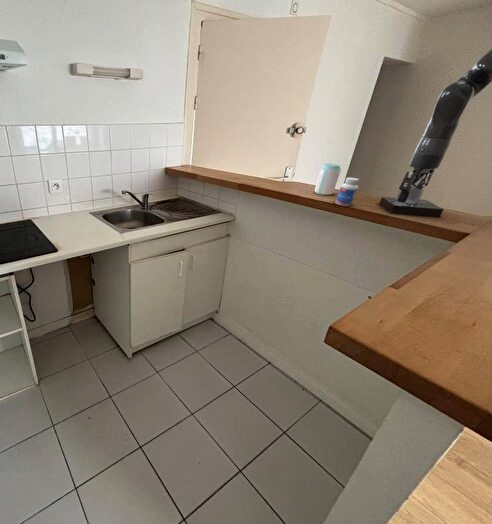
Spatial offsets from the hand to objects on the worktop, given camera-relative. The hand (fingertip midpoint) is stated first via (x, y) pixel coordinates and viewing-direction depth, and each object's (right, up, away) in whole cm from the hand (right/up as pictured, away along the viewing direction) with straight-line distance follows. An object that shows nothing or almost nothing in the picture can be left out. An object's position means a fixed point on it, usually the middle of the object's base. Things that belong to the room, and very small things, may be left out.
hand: (407, 200), depth 101 cm
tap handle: (0, -1, 0) cm, 1 cm away
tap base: (+1, -3, +1) cm, 4 cm away
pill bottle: (-17, 0, +8) cm, 19 cm away
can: (-17, +7, +21) cm, 28 cm away
